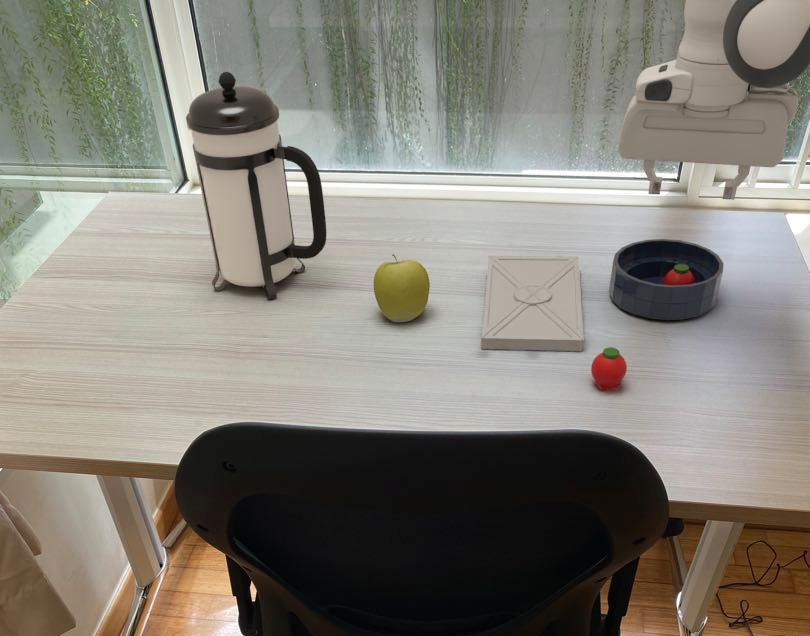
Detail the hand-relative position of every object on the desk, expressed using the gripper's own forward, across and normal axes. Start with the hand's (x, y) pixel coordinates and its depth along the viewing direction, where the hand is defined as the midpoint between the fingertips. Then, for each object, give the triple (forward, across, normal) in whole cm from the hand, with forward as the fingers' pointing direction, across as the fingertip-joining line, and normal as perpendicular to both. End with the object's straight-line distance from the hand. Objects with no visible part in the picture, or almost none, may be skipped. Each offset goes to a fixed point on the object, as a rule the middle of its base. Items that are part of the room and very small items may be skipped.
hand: (691, 195), depth 115 cm
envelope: (+16, +20, +4) cm, 26 cm away
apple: (+16, +37, +10) cm, 42 cm away
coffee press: (+16, +62, +4) cm, 64 cm away
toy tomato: (+16, 0, -2) cm, 16 cm away
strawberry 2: (+16, +6, +22) cm, 28 cm away
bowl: (+16, +2, -3) cm, 17 cm away
